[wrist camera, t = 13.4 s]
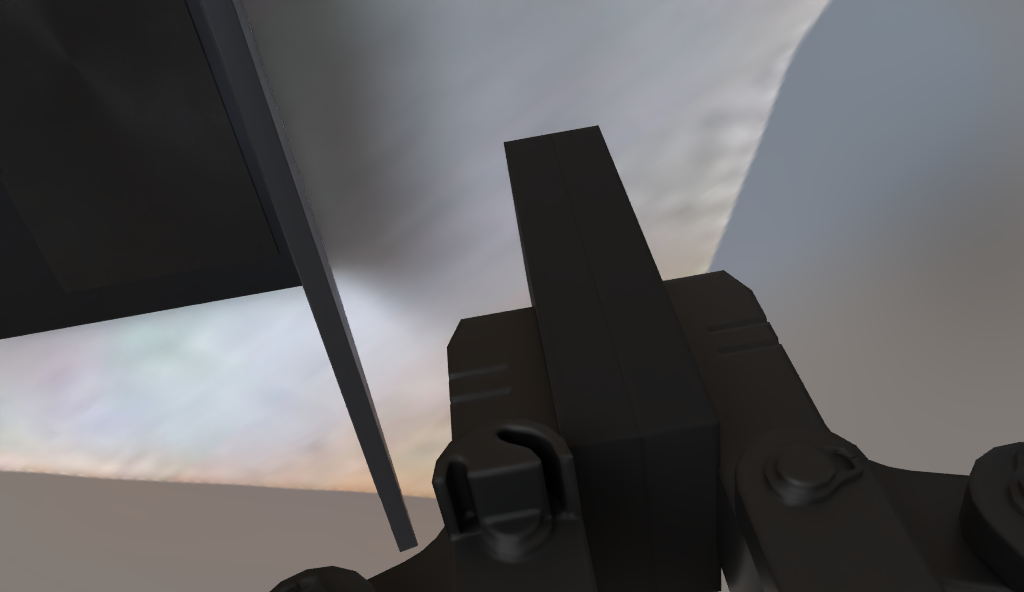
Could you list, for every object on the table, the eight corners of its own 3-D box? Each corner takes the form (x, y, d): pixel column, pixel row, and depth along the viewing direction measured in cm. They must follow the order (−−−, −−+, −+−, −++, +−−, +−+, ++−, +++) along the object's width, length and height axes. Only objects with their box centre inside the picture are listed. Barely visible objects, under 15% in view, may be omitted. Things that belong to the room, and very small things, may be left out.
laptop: (-16, 326, 55) (-28, 345, 54) (-404, -261, 36) (-440, -258, 35) (322, 266, 55) (320, 283, 53) (110, -357, 36) (97, -358, 35)
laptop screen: (397, 553, 36) (418, 546, 36) (37, -430, 17) (83, -437, 17) (320, 282, 54) (334, 278, 54) (97, -358, 35) (120, -362, 35)
